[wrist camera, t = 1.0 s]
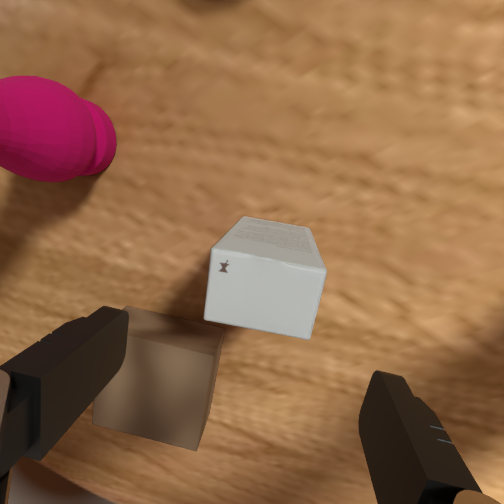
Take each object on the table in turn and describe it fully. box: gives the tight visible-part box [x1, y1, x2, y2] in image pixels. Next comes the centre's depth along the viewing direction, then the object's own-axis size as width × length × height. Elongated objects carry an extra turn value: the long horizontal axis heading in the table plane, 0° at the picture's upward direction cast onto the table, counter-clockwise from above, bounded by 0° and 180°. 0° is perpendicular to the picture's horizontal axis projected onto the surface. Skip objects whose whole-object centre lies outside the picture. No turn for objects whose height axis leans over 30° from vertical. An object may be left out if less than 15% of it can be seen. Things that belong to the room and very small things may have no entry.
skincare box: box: [204, 216, 327, 340], centre depth 22 cm, size 6×4×12 cm
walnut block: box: [92, 306, 225, 451], centre depth 30 cm, size 10×10×5 cm
